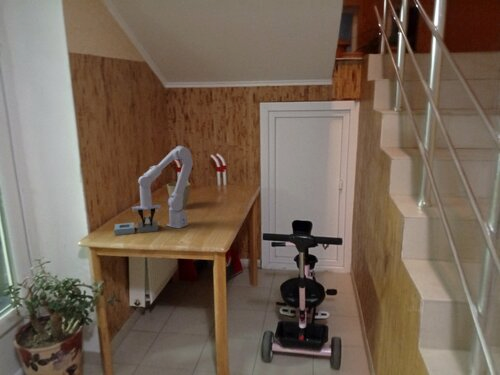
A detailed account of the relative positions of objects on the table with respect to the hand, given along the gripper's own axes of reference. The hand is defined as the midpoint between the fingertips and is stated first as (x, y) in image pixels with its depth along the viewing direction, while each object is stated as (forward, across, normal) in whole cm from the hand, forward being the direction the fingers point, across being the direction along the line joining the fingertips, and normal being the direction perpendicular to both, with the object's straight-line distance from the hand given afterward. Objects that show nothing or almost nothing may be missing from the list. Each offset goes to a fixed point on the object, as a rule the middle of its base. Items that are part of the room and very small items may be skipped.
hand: (147, 222), depth 212 cm
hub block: (+4, -12, 0) cm, 12 cm away
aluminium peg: (+4, 0, 0) cm, 4 cm away
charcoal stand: (+4, 0, 0) cm, 4 cm away
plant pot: (+4, +22, +38) cm, 44 cm away
